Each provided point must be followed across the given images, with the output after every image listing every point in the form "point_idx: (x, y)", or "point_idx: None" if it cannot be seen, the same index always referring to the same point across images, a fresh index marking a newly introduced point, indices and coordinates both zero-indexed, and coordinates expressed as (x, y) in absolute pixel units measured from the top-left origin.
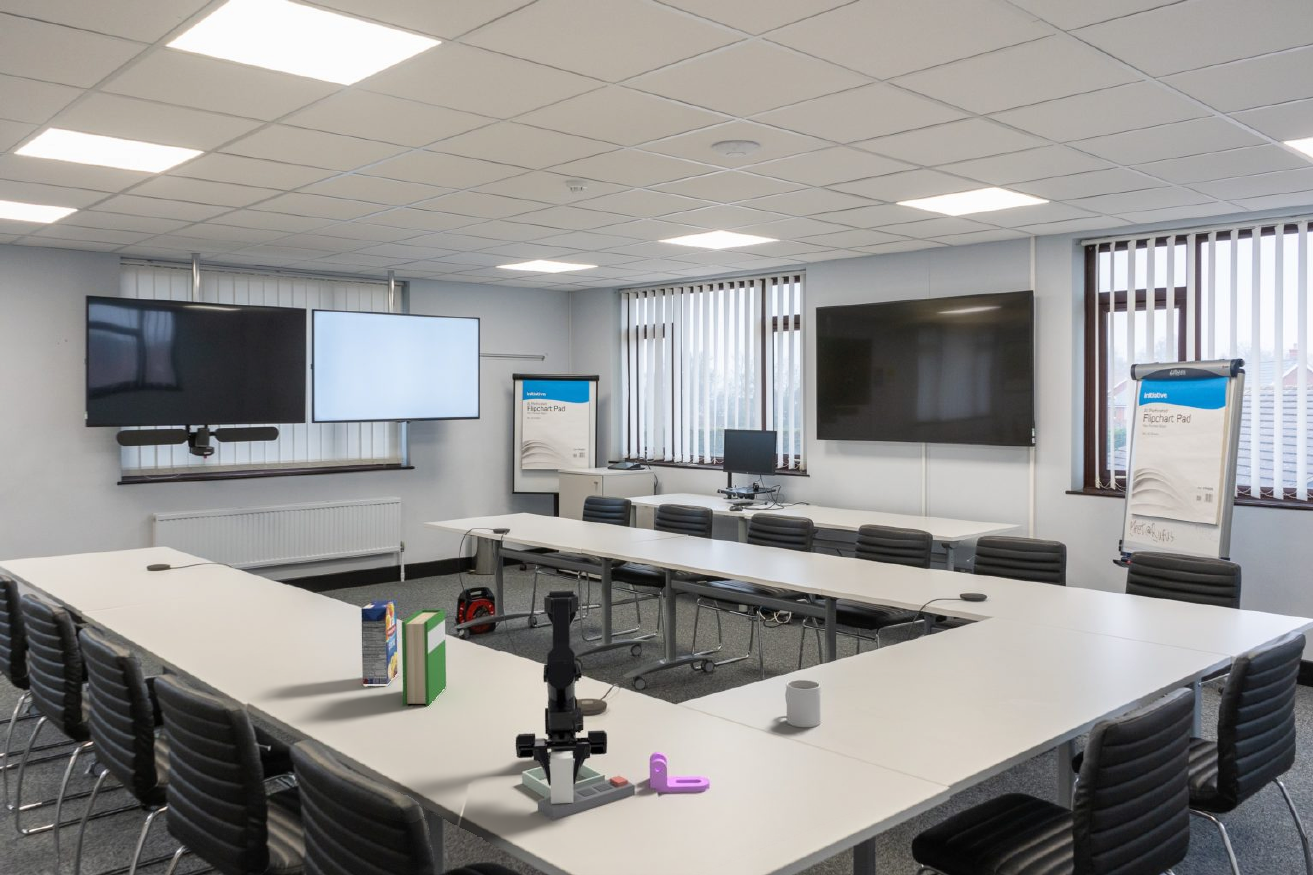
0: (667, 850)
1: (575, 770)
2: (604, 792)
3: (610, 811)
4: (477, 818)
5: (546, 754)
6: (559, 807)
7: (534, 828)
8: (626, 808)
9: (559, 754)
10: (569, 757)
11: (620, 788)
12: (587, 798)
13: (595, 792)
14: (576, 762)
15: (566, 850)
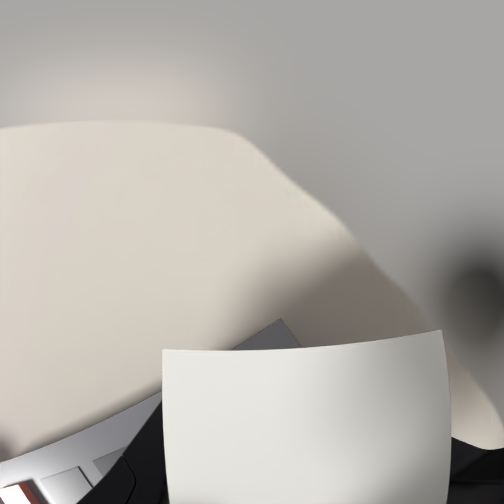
0: (25, 163)
1: (162, 428)
2: (65, 454)
3: (70, 404)
4: (459, 373)
5: (467, 472)
6: (255, 342)
7: (324, 312)
8: (27, 409)
9: (365, 491)
10: (215, 381)
11: (17, 463)
12: (131, 417)
13: (99, 464)
14: (144, 477)
15: (221, 177)
